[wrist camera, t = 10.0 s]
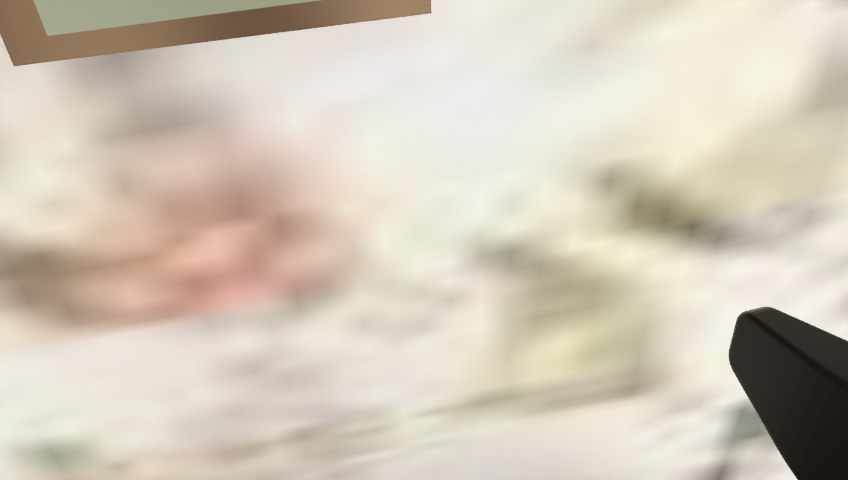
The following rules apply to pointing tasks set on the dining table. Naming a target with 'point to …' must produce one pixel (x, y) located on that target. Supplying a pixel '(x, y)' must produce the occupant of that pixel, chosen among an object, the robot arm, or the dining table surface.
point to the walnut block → (184, 27)
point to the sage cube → (134, 12)
